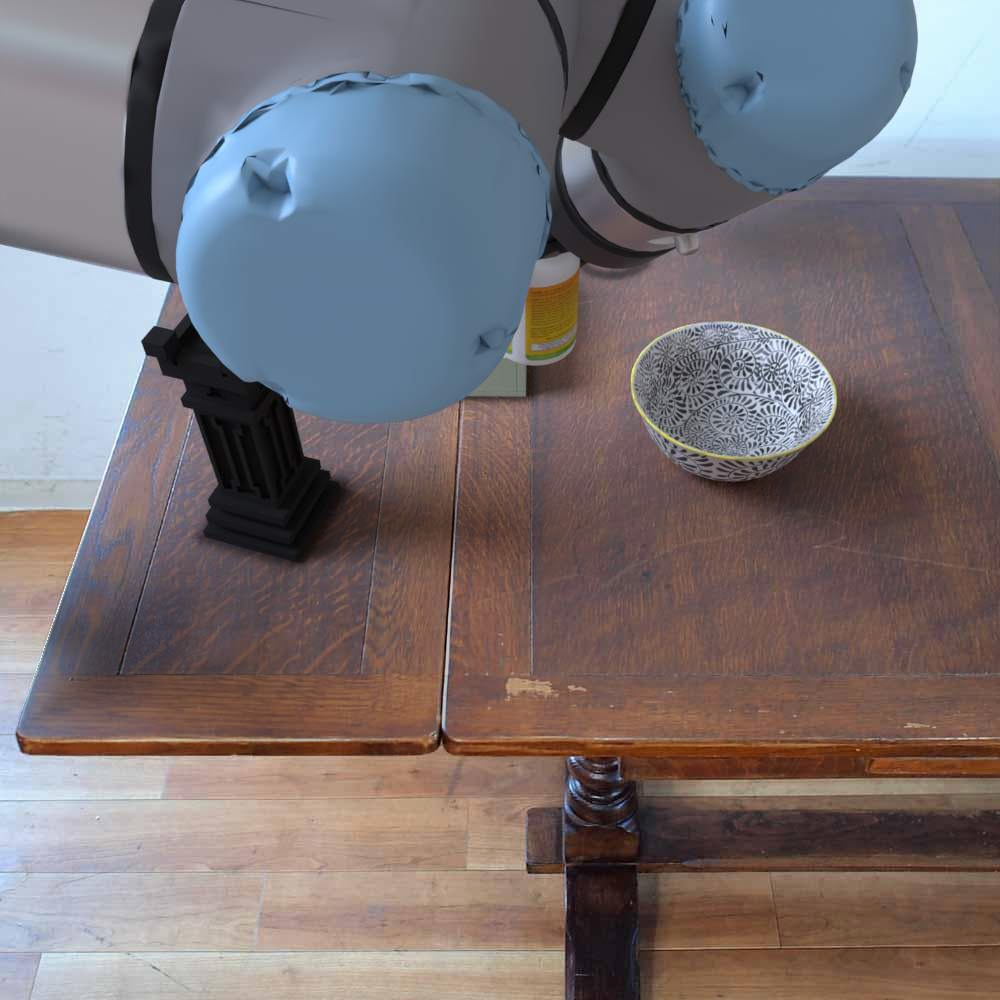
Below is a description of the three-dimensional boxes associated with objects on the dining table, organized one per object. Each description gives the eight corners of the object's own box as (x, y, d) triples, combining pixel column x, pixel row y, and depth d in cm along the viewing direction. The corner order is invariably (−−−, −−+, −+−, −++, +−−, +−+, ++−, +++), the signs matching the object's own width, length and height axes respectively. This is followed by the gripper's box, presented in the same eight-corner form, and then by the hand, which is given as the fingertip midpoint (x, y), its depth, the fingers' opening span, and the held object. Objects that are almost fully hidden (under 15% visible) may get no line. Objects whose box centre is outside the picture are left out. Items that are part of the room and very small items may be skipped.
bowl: (667, 364, 94) (677, 297, 88) (840, 421, 88) (862, 354, 83) (593, 480, 85) (597, 415, 79) (780, 551, 79) (800, 487, 74)
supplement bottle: (588, 327, 69) (597, 200, 61) (556, 377, 65) (561, 249, 58) (515, 306, 70) (514, 179, 63) (480, 354, 67) (475, 226, 60)
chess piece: (296, 562, 80) (242, 369, 64) (205, 537, 81) (132, 343, 66) (340, 488, 85) (299, 292, 69) (253, 466, 86) (194, 270, 71)
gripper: (460, 299, 43) (394, 353, 66) (845, 211, 47) (657, 290, 70) (415, 121, 43) (364, 237, 65) (809, 45, 46) (631, 179, 69)
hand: (515, 264), depth 67 cm, fingers closed on supplement bottle, 5 cm apart
